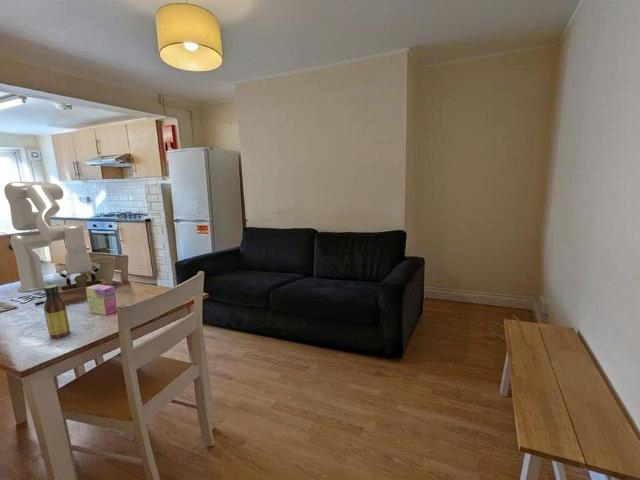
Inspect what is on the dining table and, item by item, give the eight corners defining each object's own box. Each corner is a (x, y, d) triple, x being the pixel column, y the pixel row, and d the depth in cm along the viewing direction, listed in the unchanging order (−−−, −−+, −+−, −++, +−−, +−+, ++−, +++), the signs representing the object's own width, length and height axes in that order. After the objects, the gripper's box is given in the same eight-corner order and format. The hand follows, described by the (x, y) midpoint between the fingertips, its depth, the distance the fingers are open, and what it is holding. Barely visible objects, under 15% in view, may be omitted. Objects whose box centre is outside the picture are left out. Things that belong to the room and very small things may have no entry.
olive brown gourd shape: (82, 298, 157) (79, 277, 155) (73, 298, 158) (69, 276, 157) (93, 294, 163) (90, 274, 161) (84, 293, 164) (81, 273, 162)
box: (117, 310, 144) (114, 285, 142) (105, 315, 139) (102, 290, 137) (101, 308, 148) (97, 283, 146) (89, 312, 142) (85, 287, 140)
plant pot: (106, 281, 188) (103, 255, 186) (124, 284, 183) (121, 257, 180) (80, 289, 175) (76, 261, 172) (98, 292, 169) (94, 263, 167)
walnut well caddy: (57, 300, 158) (55, 287, 157) (104, 290, 172) (102, 278, 171) (60, 306, 150) (58, 292, 148) (109, 296, 164) (108, 283, 162)
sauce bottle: (57, 331, 124) (49, 283, 121) (74, 331, 125) (66, 282, 121) (44, 339, 118) (35, 288, 114) (62, 339, 118) (54, 288, 115)
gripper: (96, 246, 165) (100, 278, 168) (53, 252, 153) (58, 286, 156) (99, 248, 160) (103, 281, 163) (55, 254, 148) (60, 289, 151)
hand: (81, 283), depth 159 cm, fingers open, 9 cm apart
